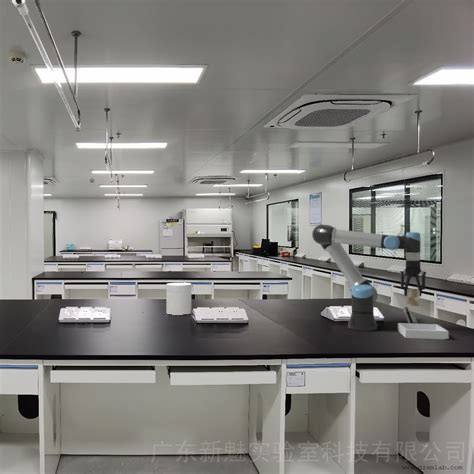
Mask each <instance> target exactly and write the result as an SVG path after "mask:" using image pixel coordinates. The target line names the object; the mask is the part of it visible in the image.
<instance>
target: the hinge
mask: <svg viewBox="0 0 474 474" xmlns="http://www.w3.org/2000/svg"><path fill="white" fill-rule="evenodd" d="M402 310H403V313H404V315H405V318H406V321H407V323H411V324H419V323H418V321H417V318H415V316H414V315H413V313H412V310H411V308H410V306H409V305H406V307H405V306H404V307H402Z"/></svg>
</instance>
